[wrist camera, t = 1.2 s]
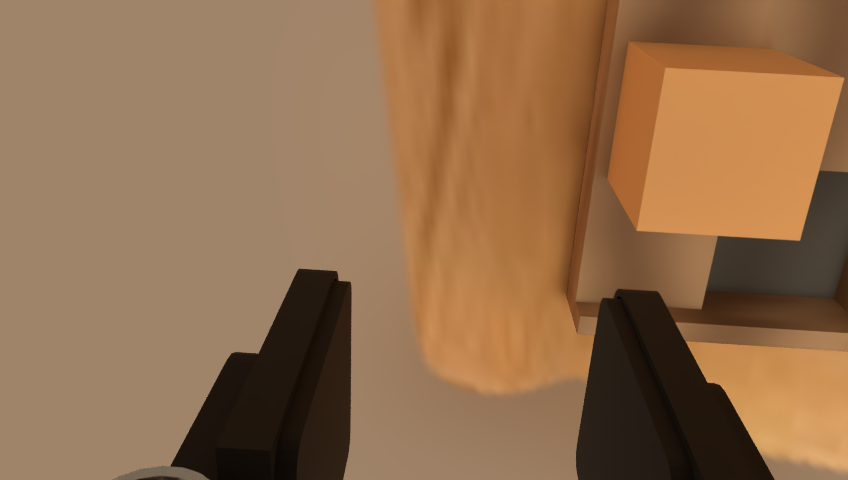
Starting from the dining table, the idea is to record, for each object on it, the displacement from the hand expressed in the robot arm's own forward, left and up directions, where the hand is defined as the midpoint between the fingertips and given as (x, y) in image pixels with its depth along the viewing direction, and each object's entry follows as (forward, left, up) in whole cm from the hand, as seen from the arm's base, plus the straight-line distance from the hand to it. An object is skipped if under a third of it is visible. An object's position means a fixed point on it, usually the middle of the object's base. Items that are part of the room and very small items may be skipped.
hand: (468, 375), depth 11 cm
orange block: (-8, 0, -17) cm, 19 cm away
